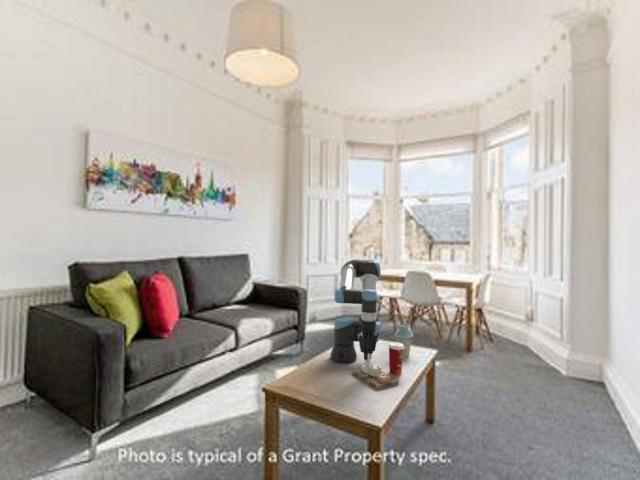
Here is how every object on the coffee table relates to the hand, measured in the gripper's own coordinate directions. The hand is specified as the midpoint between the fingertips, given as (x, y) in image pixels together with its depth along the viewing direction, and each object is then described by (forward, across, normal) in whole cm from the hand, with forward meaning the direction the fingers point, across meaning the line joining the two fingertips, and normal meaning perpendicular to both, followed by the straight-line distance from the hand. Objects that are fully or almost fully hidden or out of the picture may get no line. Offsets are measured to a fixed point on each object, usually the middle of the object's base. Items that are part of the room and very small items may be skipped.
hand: (367, 365), depth 179 cm
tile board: (+5, 0, -6) cm, 8 cm away
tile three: (+5, 0, -12) cm, 13 cm away
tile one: (+5, 0, 0) cm, 5 cm away
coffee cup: (+5, +15, -4) cm, 17 cm away
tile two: (+3, 0, -6) cm, 7 cm away
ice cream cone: (+5, +38, +14) cm, 41 cm away
